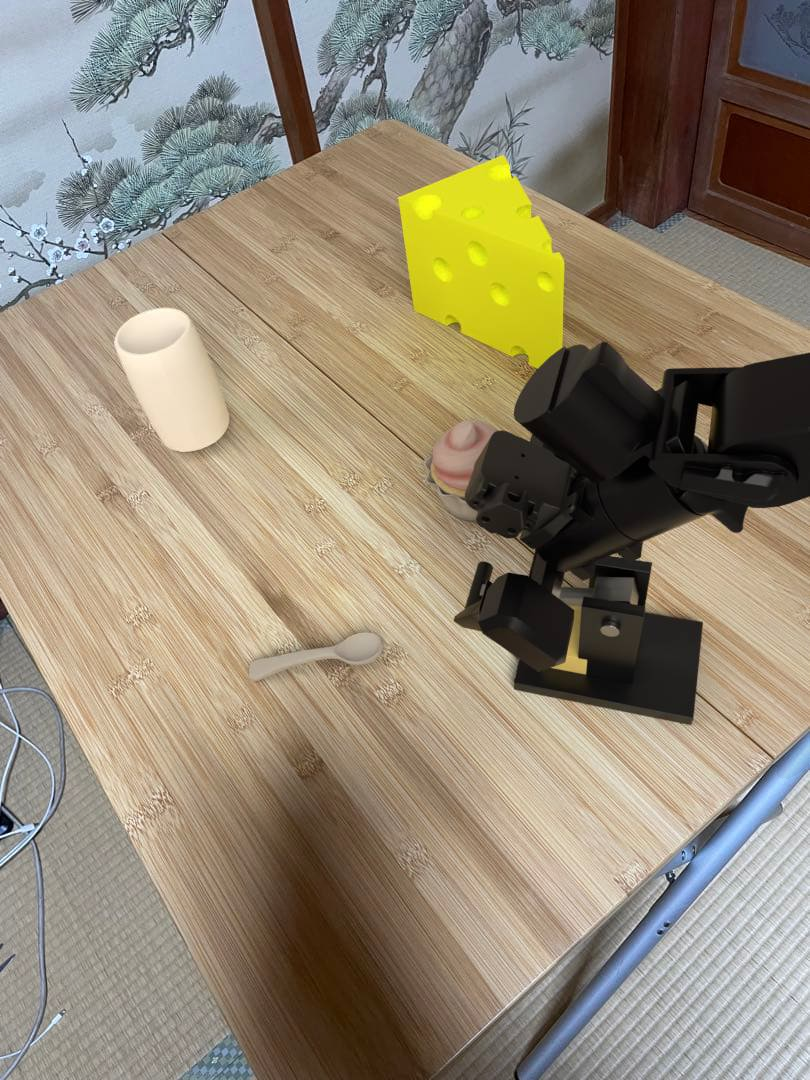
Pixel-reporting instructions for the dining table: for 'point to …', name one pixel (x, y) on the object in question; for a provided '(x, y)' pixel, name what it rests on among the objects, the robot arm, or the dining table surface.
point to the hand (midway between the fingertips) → (473, 573)
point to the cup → (173, 378)
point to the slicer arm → (566, 589)
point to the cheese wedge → (485, 261)
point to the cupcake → (457, 464)
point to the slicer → (627, 655)
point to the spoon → (322, 655)
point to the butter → (574, 648)
